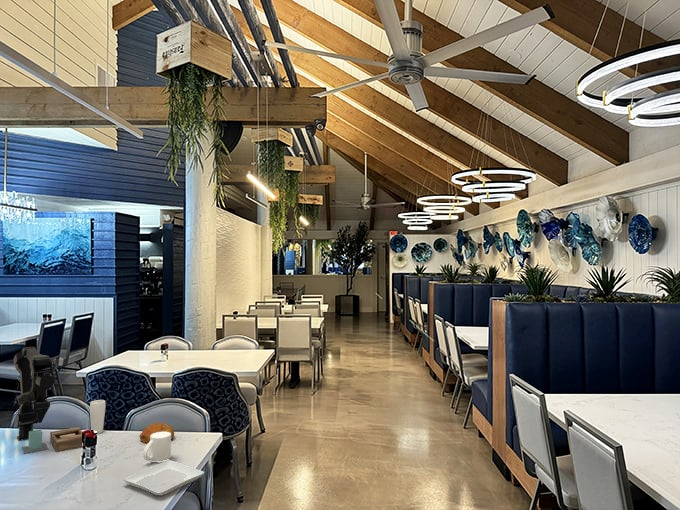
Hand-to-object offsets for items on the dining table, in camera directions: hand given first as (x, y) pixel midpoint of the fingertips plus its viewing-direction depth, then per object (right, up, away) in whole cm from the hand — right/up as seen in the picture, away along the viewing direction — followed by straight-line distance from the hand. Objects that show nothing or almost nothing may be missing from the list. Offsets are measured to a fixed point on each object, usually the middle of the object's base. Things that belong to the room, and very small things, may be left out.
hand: (38, 420), depth 215 cm
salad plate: (+69, -12, -34) cm, 78 cm away
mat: (0, -12, -2) cm, 12 cm away
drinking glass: (+16, -13, +20) cm, 29 cm away
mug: (+58, -13, -14) cm, 61 cm away
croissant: (+48, -14, +12) cm, 51 cm away
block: (0, -12, -2) cm, 12 cm away
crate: (+11, -12, +4) cm, 17 cm away
